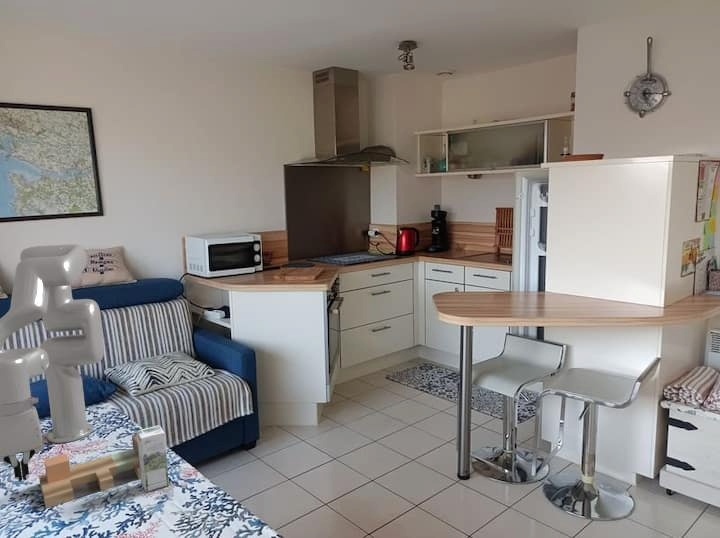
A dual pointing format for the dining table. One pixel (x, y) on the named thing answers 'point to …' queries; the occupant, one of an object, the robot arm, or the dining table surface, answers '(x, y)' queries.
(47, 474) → the orange block
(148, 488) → the syrup box
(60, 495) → the board
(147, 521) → the dining table surface
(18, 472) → the robot arm
